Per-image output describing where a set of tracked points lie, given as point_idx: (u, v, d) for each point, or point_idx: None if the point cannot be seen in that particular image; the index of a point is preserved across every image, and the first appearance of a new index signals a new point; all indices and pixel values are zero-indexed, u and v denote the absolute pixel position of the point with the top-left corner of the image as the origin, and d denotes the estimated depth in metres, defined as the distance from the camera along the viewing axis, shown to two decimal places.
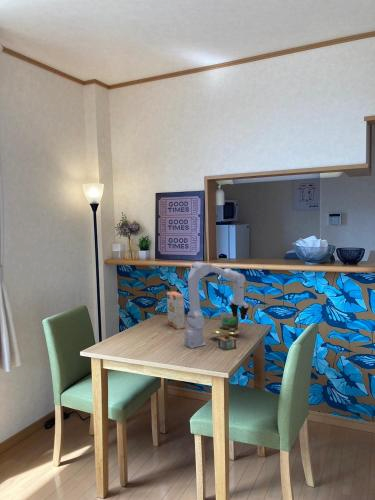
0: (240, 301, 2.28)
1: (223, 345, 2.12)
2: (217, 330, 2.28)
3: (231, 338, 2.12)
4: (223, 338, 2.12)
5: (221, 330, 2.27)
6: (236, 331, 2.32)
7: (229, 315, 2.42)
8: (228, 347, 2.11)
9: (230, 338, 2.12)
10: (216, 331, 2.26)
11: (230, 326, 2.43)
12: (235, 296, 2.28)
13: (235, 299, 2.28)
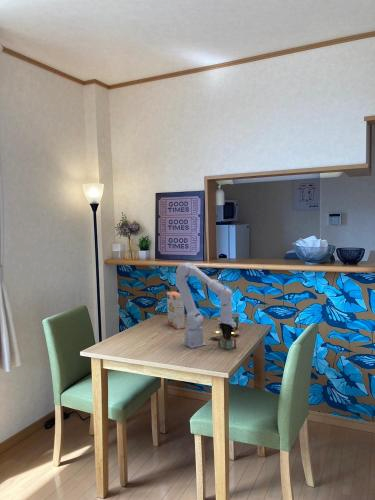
0: (228, 320, 2.09)
1: (223, 345, 2.12)
2: (217, 330, 2.28)
3: (231, 338, 2.12)
4: (223, 338, 2.12)
5: (221, 330, 2.27)
6: (236, 331, 2.32)
7: None
8: (228, 347, 2.11)
9: (230, 338, 2.12)
10: (216, 331, 2.26)
11: None
12: (222, 314, 2.09)
13: (222, 317, 2.09)
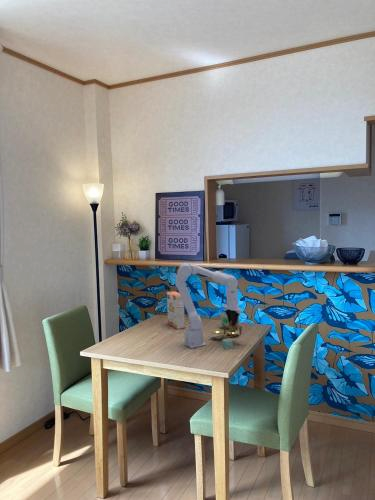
0: (234, 306, 2.15)
1: (223, 345, 2.12)
2: (217, 330, 2.28)
3: (236, 325, 2.18)
4: (229, 325, 2.18)
5: (221, 330, 2.27)
6: (236, 331, 2.32)
7: None
8: (228, 347, 2.11)
9: (235, 325, 2.18)
10: (216, 331, 2.26)
11: None
12: (228, 301, 2.15)
13: (228, 304, 2.15)
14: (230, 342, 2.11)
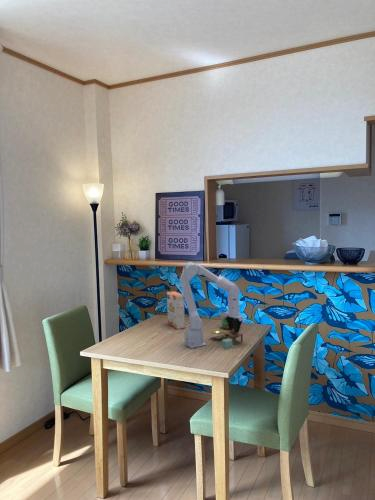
0: (235, 313, 2.17)
1: (223, 345, 2.12)
2: (217, 330, 2.28)
3: (238, 333, 2.20)
4: (230, 333, 2.20)
5: (221, 330, 2.27)
6: None
7: None
8: (228, 347, 2.11)
9: (237, 333, 2.20)
10: (216, 331, 2.26)
11: None
12: (230, 308, 2.17)
13: (230, 311, 2.17)
14: (230, 342, 2.11)
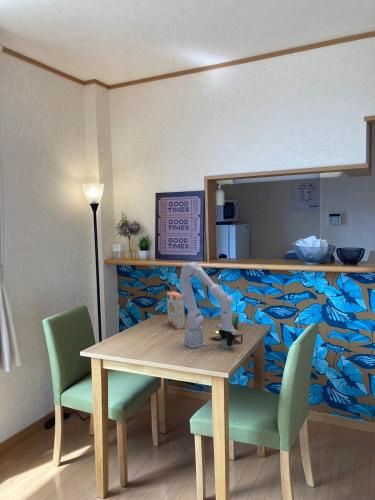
0: (228, 327, 2.09)
1: (223, 345, 2.12)
2: (217, 330, 2.28)
3: (238, 333, 2.20)
4: None
5: None
6: None
7: None
8: (228, 347, 2.11)
9: (237, 333, 2.20)
10: (216, 331, 2.26)
11: None
12: (223, 321, 2.10)
13: (223, 324, 2.10)
14: None
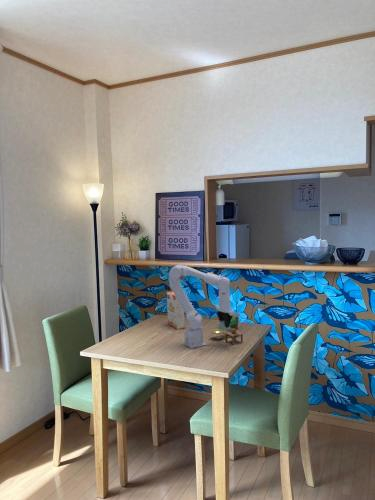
0: (226, 308, 2.11)
1: (221, 326, 2.15)
2: (217, 330, 2.28)
3: (238, 333, 2.20)
4: (230, 333, 2.20)
5: (221, 330, 2.27)
6: None
7: None
8: (226, 328, 2.13)
9: (237, 333, 2.20)
10: (216, 331, 2.26)
11: (230, 326, 2.43)
12: (220, 303, 2.12)
13: (220, 306, 2.12)
14: None
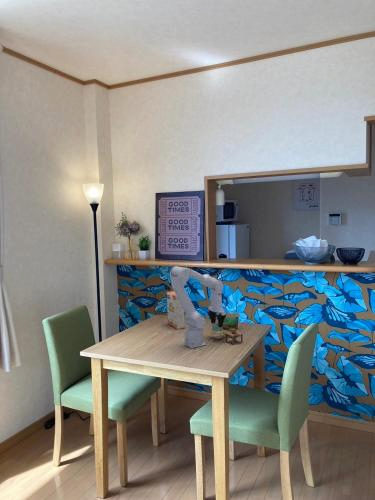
0: (218, 308, 2.23)
1: (213, 328, 2.27)
2: None
3: (238, 333, 2.20)
4: (230, 333, 2.20)
5: None
6: None
7: (229, 315, 2.42)
8: (218, 330, 2.25)
9: (237, 333, 2.20)
10: None
11: (230, 326, 2.43)
12: (213, 303, 2.24)
13: (213, 306, 2.24)
14: None
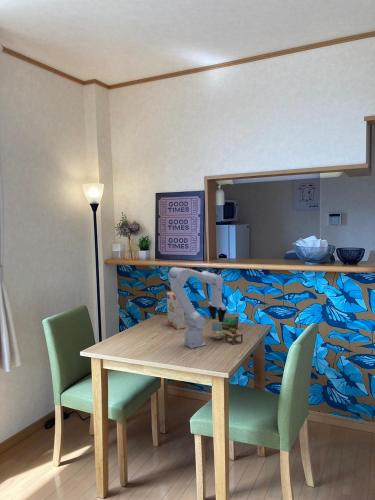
0: (218, 303, 2.23)
1: (213, 328, 2.27)
2: None
3: (238, 333, 2.20)
4: (230, 333, 2.20)
5: None
6: None
7: (229, 315, 2.42)
8: (218, 330, 2.25)
9: (237, 333, 2.20)
10: None
11: (230, 326, 2.43)
12: (213, 298, 2.24)
13: (213, 301, 2.24)
14: (220, 325, 2.26)
